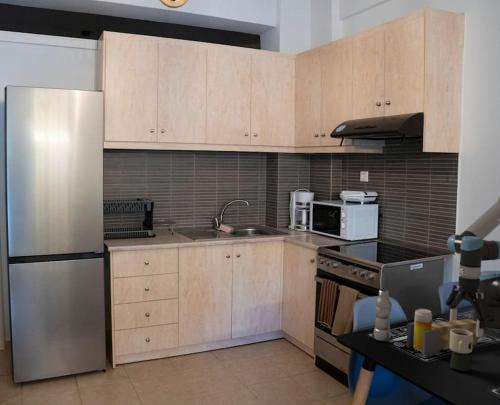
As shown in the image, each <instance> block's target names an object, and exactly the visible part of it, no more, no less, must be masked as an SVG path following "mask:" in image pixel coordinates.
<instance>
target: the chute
mask: <svg viewBox="0 0 500 405" xmlns="http://www.w3.org/2000/svg"><path fill="white" fill-rule="evenodd" d="M406 330H407V331H406V342H405V343H404V346H406V347H407V348H411V347H412V346H413V341H414V321H412V322H407V328H406ZM440 335H441V330H440V329H433V330H425V331H423V341H422V352H421V355H422V354H423V355H424V357H425V356H429V357H433V355H436V356H441V355H440V354H443V353H442V352H441V350H440ZM423 355H422V356H423Z"/></svg>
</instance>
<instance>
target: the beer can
mask: <svg viewBox="0 0 500 405" xmlns="http://www.w3.org/2000/svg"><path fill="white" fill-rule="evenodd" d="M413 322H414V341H413V348H414V350H415V351H416V350H417V351H416V352H418V351H420V352H419V353H422V341H423V331H425V330H431V327H432V322H433V313H432V311H431V310H430V309H426V308H417V309H415V312H414V321H413Z"/></svg>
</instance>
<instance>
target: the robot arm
mask: <svg viewBox="0 0 500 405" xmlns="http://www.w3.org/2000/svg"><path fill="white" fill-rule="evenodd" d="M499 225H500V195H499V196H498V198H497V201H496V202H494V204H492V205H491V206H490V207H489V208H488V209H487V210H486V211H485V212H484V213H483V214H482V215H480V216H479V217H478V218H477V219H475V221H474V222H472V224H470V226H468V227H467V228H466V229H465V230H464V231H462V232H461V233H460V234H452V235H450V236H449V237H448V239H447V244H446V245H447V246H446V247H447V248H448V250H449V251H450V252H451V253H455V254H457V255H458V254H459V256H460V257H459V269H458V270H459V272H458V274H459V276H458V283H457V284H454V285H452V290H451V292H450V294H449V296H448V298H447V300H446V302H445V305H446V306H448V308H449V321H456V320H458V319H457V316H458V306H459V304H461V302H462V301H466V302H470V303H469V304H471V306H472V307H473V310H474V311H473V313H472V315H471V320H474V321H476V322H477V327H476V337H477V338H479V337H480V338H481V337H484V329H485V328H486V327H487V328H491V329H493V328H494V329H500V270H483V271H481V270H482V262H484V261H497V260H500V240H494V239H493V240H486V239H485V238H487V237H488V236H489V235H490V234H491V233H492V232H493V231H494V230H495V229H496V228H497V227H499Z"/></svg>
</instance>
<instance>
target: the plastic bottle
mask: <svg viewBox="0 0 500 405" xmlns="http://www.w3.org/2000/svg"><path fill="white" fill-rule="evenodd" d="M389 296H390V293H389V290H388V289H385V288H383V289H382V288H381V289H379V290H378V297H377V299H376V300H375V301H374V308H375V324H374V329H373V337H374V339H375V340H377V341H380V342H387V341H389V340H390V339H391V336H392V334H391V325H390V324H391V321H390V319H391V311H392V306H393V305H392V301H391V299H390V298H389Z"/></svg>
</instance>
